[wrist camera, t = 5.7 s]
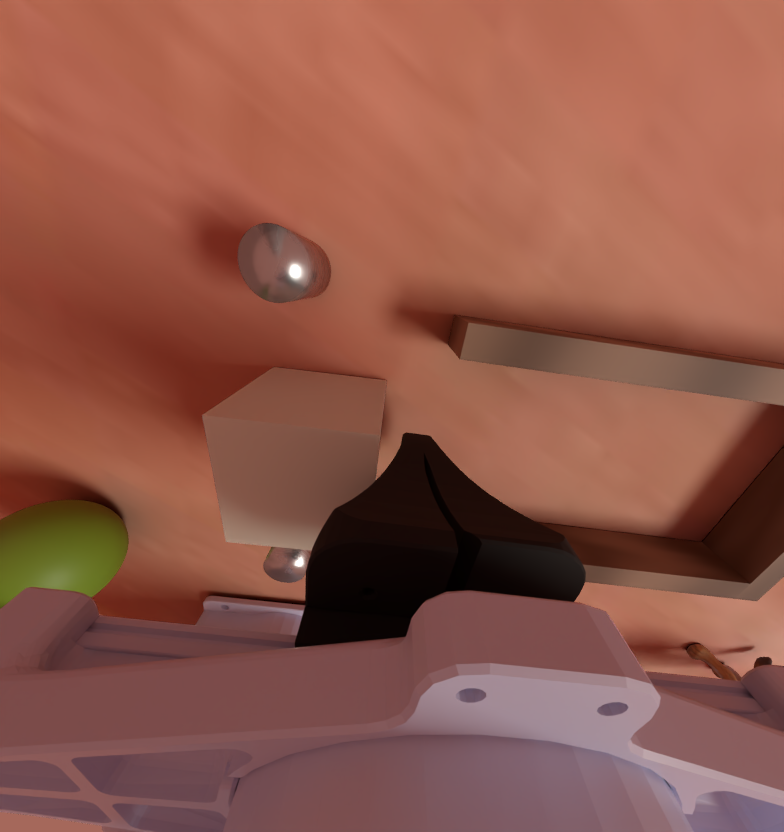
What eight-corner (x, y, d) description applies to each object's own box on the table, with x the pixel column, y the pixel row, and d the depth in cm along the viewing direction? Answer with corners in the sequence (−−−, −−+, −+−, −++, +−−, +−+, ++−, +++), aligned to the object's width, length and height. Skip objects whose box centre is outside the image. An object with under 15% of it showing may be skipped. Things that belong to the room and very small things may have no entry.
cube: (279, 461, 15) (225, 541, 10) (273, 367, 12) (201, 415, 8) (376, 471, 15) (366, 556, 10) (386, 380, 13) (379, 435, 8)
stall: (408, 523, 16) (410, 562, 14) (454, 314, 11) (468, 322, 9) (708, 558, 17) (756, 601, 15) (872, 377, 12) (980, 399, 10)
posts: (286, 531, 17) (264, 580, 14) (277, 234, 10) (234, 217, 8) (320, 535, 17) (305, 584, 14) (332, 243, 10) (309, 229, 8)
